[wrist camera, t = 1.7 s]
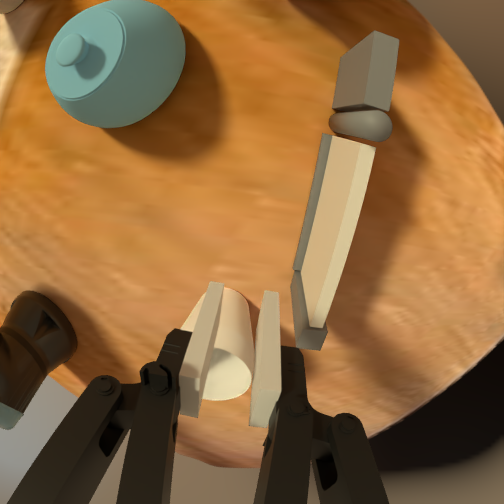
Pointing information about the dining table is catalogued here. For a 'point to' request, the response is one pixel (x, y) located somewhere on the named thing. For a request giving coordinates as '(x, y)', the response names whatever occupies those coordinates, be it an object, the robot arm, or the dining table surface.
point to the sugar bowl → (115, 62)
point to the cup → (228, 348)
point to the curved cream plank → (334, 223)
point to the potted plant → (9, 5)
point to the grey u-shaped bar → (349, 123)
